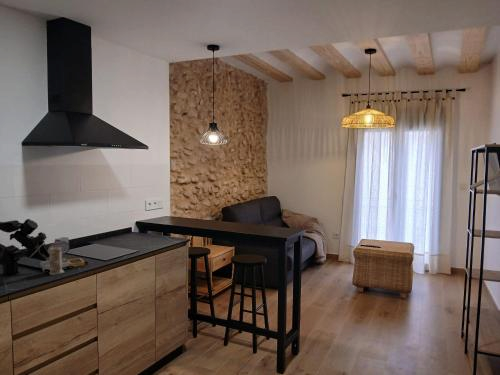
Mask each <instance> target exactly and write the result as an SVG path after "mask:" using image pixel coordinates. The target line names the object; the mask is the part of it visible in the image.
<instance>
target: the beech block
mask: <svg viewBox="0 0 500 375" xmlns="http://www.w3.org/2000/svg"><path fill="white" fill-rule="evenodd" d="M62 259H63V254H62V247H53V248H51V249H50V256H49V261H50V273H58V272H61V271H62Z"/></svg>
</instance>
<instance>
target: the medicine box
mask: <svg viewBox="0 0 500 375" xmlns="http://www.w3.org/2000/svg"><path fill="white" fill-rule="evenodd" d="M61 241H65V242H67V243H68V244H69V243H70V242H69V237H68V236H67V237H66V236H63V237H59V238H55V239H54V243H55V242H61ZM69 245H70V244H69Z"/></svg>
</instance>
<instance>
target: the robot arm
mask: <svg viewBox="0 0 500 375" xmlns="http://www.w3.org/2000/svg"><path fill="white" fill-rule="evenodd" d="M38 226H39V225H38V222H36V221H34V220H31V219H30V218H27V219H25V221H23V223H22V222H20V221H18V220H17V219H16V220H9V221H0V231H2V232H5V233H8V234H9V240H10V241H12V240H13V239H14V240H15V241H17V242H18V243H19V244H21V245H20V246H21V247H24V248H25V249H26V252H25V253H24V254H25V257H26V258H28V259H29V258H30V259H32V260H33V259H35V260H38V261H40V262H43V261H47V258H46V257H48V258H50V254H49V253H48V251H47V250H46V241H45V240H46V239H47V238H48V237H47V234H46V233H44V232H42V231H41V232H38V233H37V235H36V236H33V235H32V236H30V235H31V234H32V233H34V231H35V230H37V229H38V228H39V227H38ZM13 232H14V233H13ZM22 254H23V253H22V250H21V249H20V248H19V247H17V246H15V245H13V244H11V245H8V246H6V245H4V244H3V243H0V257H1V258H0V265H1V266H2V273H0V275H3V276H5V277H6V276H7V277H10V276H14V275H17V274H20V271H19V264H18V262H19V261H20V260H21V258H22V256H23V255H22ZM45 256H46V257H45Z"/></svg>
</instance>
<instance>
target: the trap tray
mask: <svg viewBox="0 0 500 375" xmlns="http://www.w3.org/2000/svg"><path fill="white" fill-rule="evenodd" d="M74 261H80V262H78V263H71V262H74ZM66 262H69V265H70V266H73V267H72V268H75V267H76V268H77V267H82V266H86V265H85V264H86V263H85V261H84V260H83V259H82V258H81V257H78V258H70V259H66Z"/></svg>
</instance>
